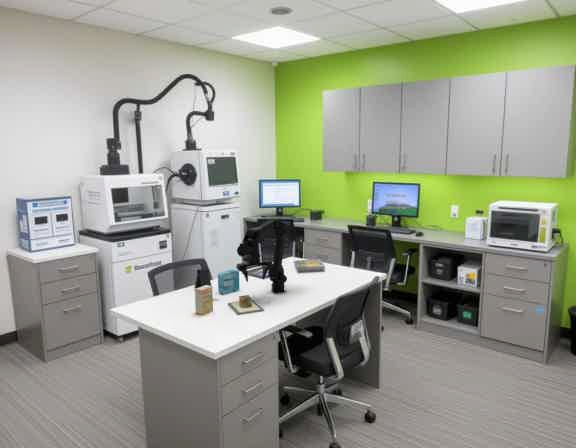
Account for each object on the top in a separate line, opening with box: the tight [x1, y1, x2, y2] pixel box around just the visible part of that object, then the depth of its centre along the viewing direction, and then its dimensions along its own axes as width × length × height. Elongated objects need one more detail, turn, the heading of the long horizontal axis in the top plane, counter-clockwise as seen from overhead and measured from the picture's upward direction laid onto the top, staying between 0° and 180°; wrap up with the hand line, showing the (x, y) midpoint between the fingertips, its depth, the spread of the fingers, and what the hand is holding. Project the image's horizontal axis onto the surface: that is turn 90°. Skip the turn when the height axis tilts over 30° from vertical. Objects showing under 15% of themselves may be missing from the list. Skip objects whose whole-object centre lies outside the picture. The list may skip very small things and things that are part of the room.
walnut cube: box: [238, 294, 253, 308], centre depth 236 cm, size 5×5×5 cm
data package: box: [217, 269, 240, 295], centre depth 263 cm, size 12×4×12 cm, turn 133°
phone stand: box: [194, 267, 212, 289], centre depth 270 cm, size 9×6×12 cm, turn 49°
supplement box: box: [194, 285, 214, 316], centre depth 229 cm, size 8×5×13 cm, turn 148°
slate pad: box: [227, 299, 265, 316], centre depth 236 cm, size 14×18×1 cm
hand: (255, 280), depth 245 cm, fingers open, 9 cm apart
